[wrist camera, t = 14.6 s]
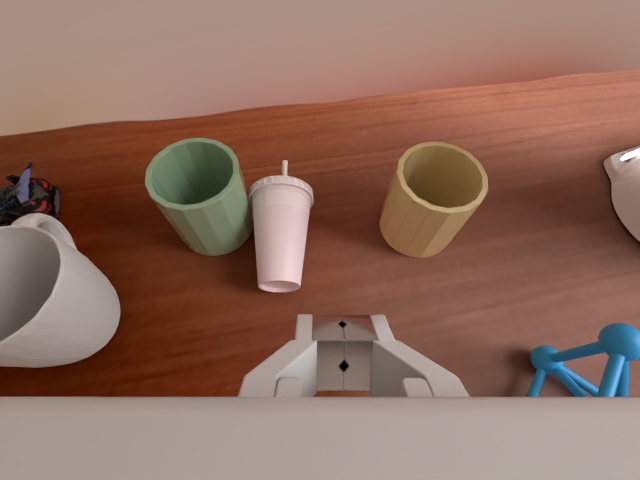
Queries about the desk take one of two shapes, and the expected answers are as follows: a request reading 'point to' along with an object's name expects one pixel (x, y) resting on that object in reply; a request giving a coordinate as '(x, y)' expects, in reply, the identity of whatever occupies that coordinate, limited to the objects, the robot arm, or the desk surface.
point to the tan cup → (431, 198)
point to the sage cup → (202, 195)
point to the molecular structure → (613, 340)
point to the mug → (50, 297)
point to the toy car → (28, 198)
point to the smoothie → (280, 229)
